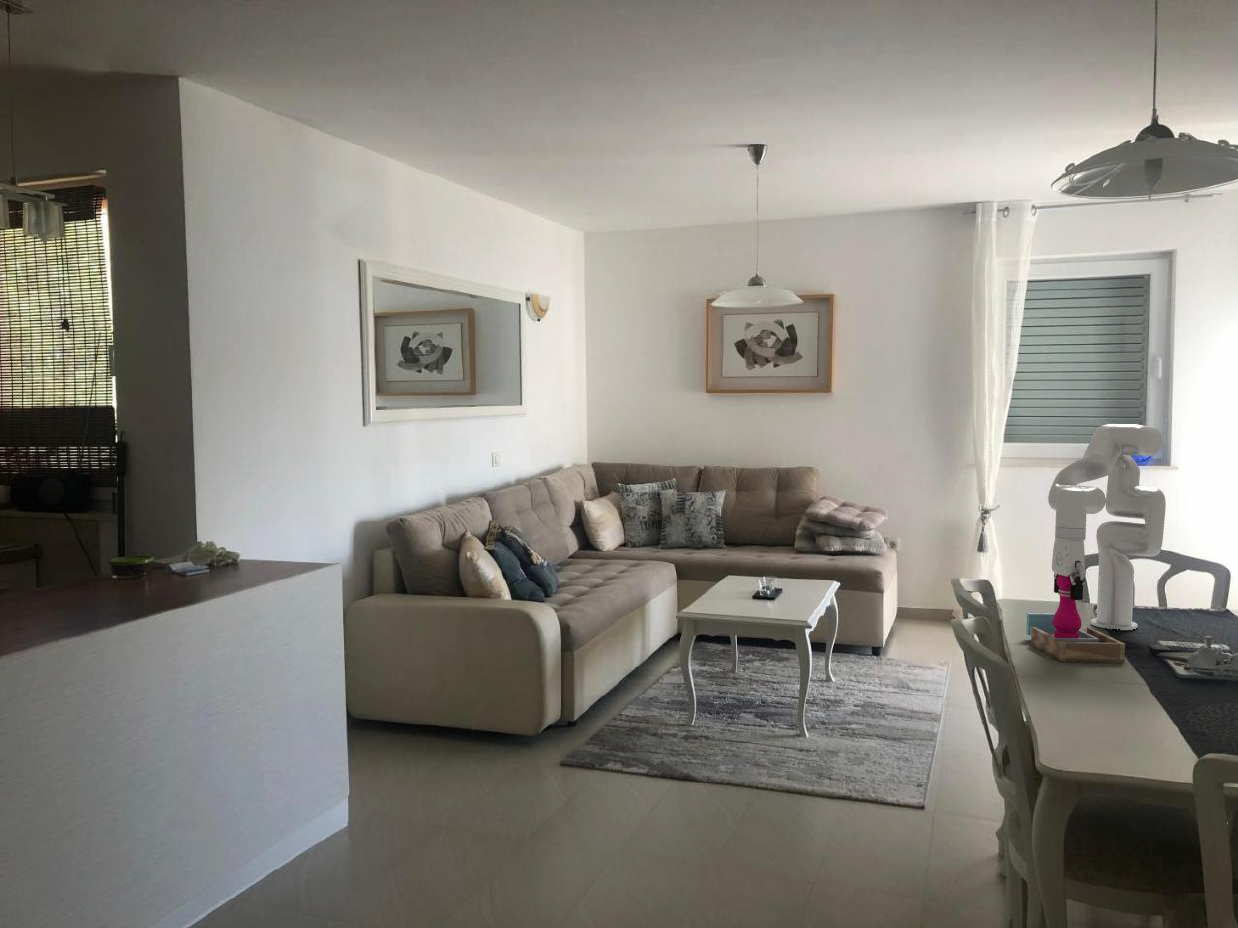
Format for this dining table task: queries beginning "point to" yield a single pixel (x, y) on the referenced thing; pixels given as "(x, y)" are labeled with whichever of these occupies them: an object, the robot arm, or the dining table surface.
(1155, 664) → the dining table surface
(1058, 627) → the pepper mill
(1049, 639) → the cubby
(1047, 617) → the drawer
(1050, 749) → the dining table surface
